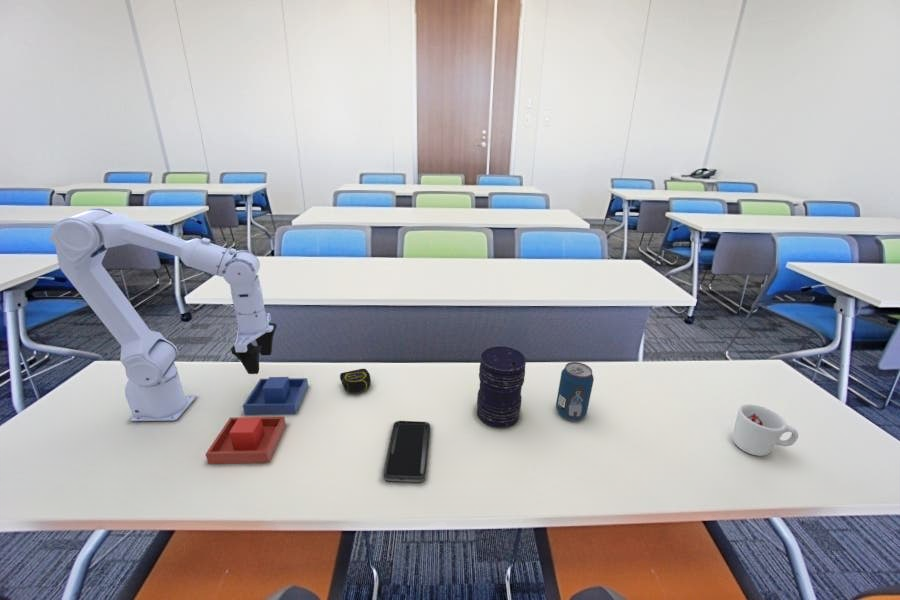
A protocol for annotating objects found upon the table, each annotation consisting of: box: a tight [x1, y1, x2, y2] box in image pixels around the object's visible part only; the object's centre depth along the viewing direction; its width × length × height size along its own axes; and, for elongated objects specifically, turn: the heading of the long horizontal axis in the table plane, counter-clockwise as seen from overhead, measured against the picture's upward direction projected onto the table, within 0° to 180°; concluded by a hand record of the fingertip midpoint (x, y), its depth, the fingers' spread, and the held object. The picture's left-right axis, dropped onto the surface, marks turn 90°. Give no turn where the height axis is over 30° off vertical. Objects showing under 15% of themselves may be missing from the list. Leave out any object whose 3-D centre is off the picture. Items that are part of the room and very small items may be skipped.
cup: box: [732, 403, 799, 457], centre depth 82 cm, size 11×8×8 cm
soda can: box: [555, 361, 595, 422], centre depth 89 cm, size 7×7×12 cm
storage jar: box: [476, 346, 527, 429], centre depth 88 cm, size 10×10×15 cm
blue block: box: [262, 376, 291, 404], centre depth 92 cm, size 4×4×4 cm
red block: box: [229, 416, 264, 450], centre depth 79 cm, size 4×4×4 cm
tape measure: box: [339, 368, 372, 394], centre depth 97 cm, size 7×7×4 cm
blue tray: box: [242, 377, 309, 416], centre depth 92 cm, size 11×10×2 cm
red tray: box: [205, 416, 287, 465], centre depth 80 cm, size 11×10×2 cm
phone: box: [382, 420, 431, 483], centre depth 79 cm, size 8×1×15 cm
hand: (260, 363), depth 90 cm, fingers open, 7 cm apart
